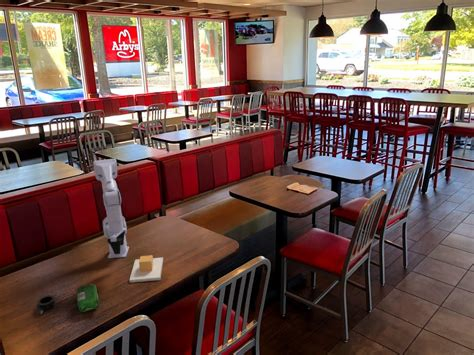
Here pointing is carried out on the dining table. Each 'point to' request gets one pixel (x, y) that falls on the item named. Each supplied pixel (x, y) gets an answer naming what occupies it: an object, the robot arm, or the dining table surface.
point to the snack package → (87, 297)
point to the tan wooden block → (146, 263)
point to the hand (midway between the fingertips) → (119, 249)
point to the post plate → (147, 275)
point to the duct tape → (46, 303)
